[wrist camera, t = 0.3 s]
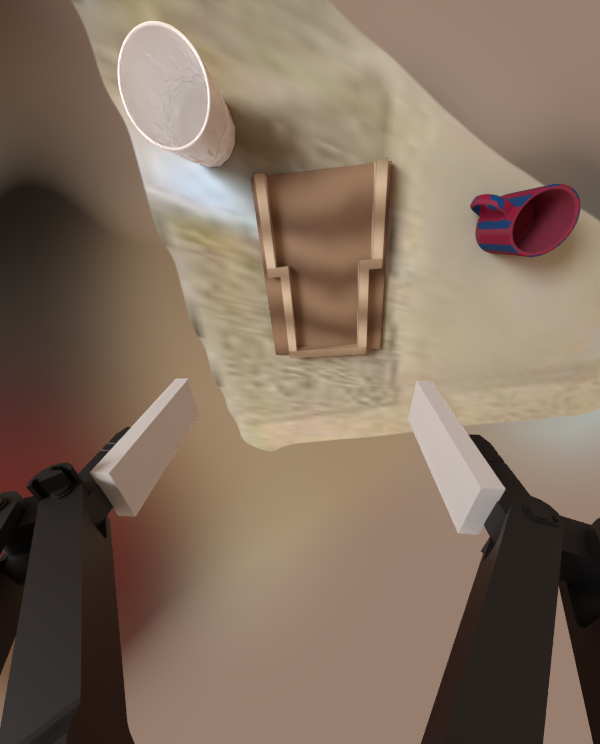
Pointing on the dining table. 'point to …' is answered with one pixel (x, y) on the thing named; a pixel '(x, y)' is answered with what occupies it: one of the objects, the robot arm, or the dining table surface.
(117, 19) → the dining table surface
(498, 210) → the mug
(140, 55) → the white cup
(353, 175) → the wooden tray
